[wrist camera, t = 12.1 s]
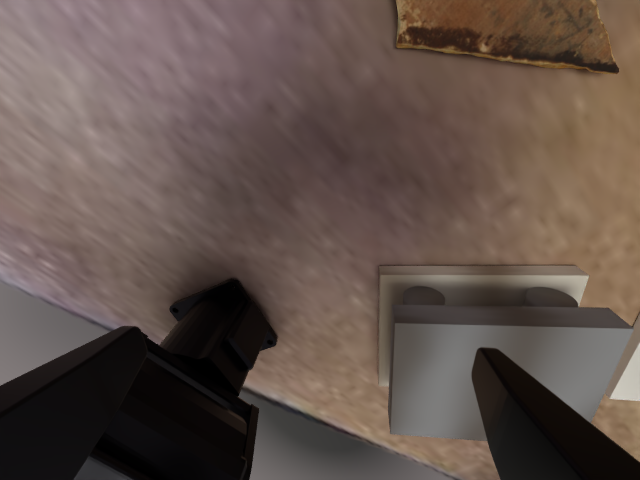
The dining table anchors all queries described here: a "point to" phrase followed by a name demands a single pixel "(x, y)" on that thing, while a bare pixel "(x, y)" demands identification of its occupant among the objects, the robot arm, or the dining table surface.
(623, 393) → the pad
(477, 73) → the dining table surface
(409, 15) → the shard
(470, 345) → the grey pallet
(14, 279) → the dining table surface
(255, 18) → the dining table surface
